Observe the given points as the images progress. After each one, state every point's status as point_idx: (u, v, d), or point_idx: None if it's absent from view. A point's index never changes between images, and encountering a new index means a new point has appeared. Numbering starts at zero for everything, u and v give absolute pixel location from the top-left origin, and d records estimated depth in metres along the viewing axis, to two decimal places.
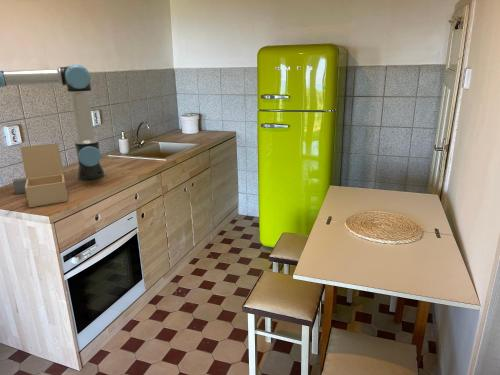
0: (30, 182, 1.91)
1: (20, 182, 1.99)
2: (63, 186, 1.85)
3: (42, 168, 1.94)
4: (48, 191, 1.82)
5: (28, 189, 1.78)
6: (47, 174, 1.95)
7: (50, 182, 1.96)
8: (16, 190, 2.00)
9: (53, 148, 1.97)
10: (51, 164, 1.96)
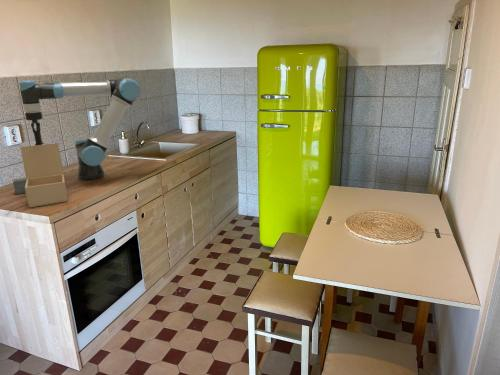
0: (30, 182, 1.91)
1: (20, 182, 1.99)
2: (63, 186, 1.85)
3: (42, 168, 1.94)
4: (48, 191, 1.82)
5: (28, 189, 1.78)
6: (47, 174, 1.95)
7: (50, 182, 1.96)
8: (16, 190, 2.00)
9: (53, 148, 1.97)
10: (51, 164, 1.96)
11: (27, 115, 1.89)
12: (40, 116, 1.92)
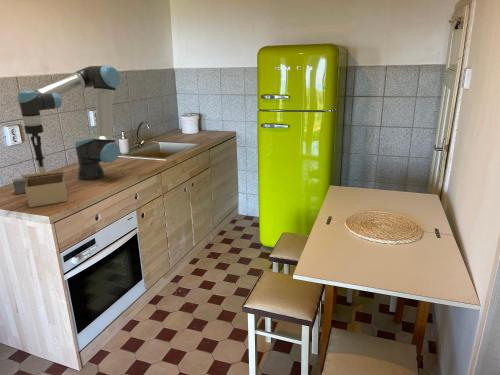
0: (30, 182, 1.91)
1: (20, 182, 1.99)
2: (63, 186, 1.85)
3: None
4: (48, 191, 1.82)
5: (28, 189, 1.78)
6: (47, 175, 1.94)
7: (50, 182, 1.96)
8: (16, 190, 2.00)
9: None
10: (53, 174, 1.91)
11: (27, 128, 1.74)
12: (41, 129, 1.78)
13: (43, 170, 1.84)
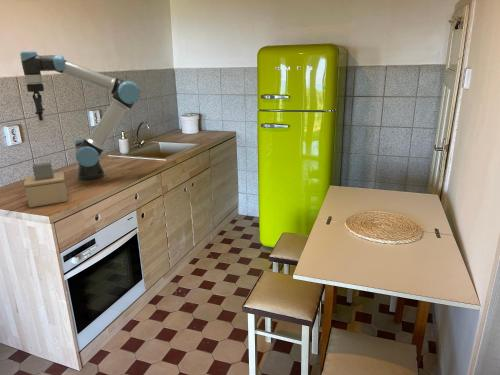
0: None
1: (40, 167, 1.83)
2: (63, 186, 1.85)
3: None
4: (48, 191, 1.82)
5: (28, 189, 1.78)
6: None
7: None
8: (36, 176, 1.83)
9: None
10: None
11: (29, 86, 1.89)
12: (42, 88, 1.92)
13: (43, 124, 1.93)
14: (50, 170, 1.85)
